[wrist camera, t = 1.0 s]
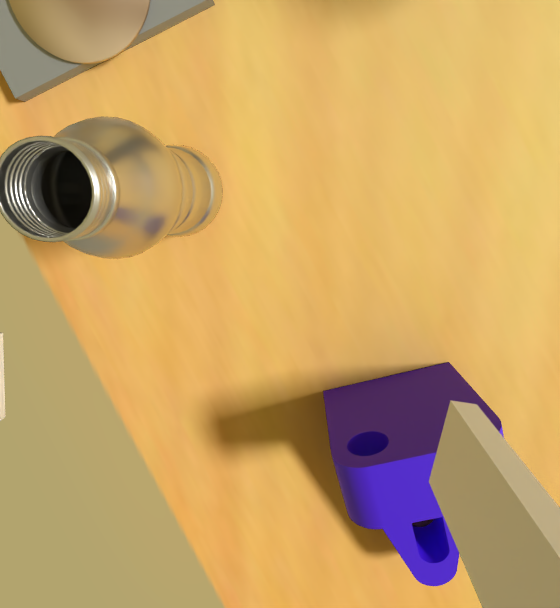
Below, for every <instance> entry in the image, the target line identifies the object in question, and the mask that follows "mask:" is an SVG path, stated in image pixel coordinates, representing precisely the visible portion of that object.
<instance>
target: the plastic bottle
mask: <svg viewBox="0 0 560 608" xmlns="http://www.w3.org/2000/svg"><path fill="white" fill-rule="evenodd" d="M222 193H223V189H222V182H221V178H220V176H219V173H218V171H217V169H216V167H215V166H214V164H213V163H212V162H211V161H210V160H209V158H208V157H206V156H205V155H204V154H203V153H201V152H200V151H198V150H196V149H194V148H191V147H187V146H184V145H167V146H165V145H164V144H163V143H162V142H161V140H160V139H158V138H157V137H156V136H154V135H153V134H152V133H150V132H149V131H148V130H146V129H145V128H143V127H141V126H139V125H137V124H135V123H133V122H131V121H128V120H124V119H121V118H117V117H96V118H90V119H86V120H83V121H80V122H77V123H75V124H72V125H70V126H67V127H66V128H64V129H63V130H61V131H60V132H58V133H57V134H56V135H55V136H54V137H51V136H35V137H29V138H25V139H22V140H20V141H17V142H16V143H14V144H13V145H11V146H10V147H9V148H8V149H7V150H6V151H5V152H4V153H3V154H2V155H1V157H0V212H1V214H2V215H3V216H4V218H5V220H6V221H7V222H8V223H9V224H10V225H11V226H12V227H13V228H14V229H15V230H17V231H18V232H20V233H21V234H23V235H25V236H27V237H29V238H31V239H35V240H39V241H44V242H59V241H64V242H65V243H67V244H68V245H69V246H71V247H73V248H75V249H77V250H79V251H81V252H83V253H86V254H89V255H93V256H97V257H101V258H109V259H120V258H127V257H132V256H134V255H137V254H140V253H143V252H144V251H146V250H148V249H149V248H151V247H153V246H154V245H156V244H158V243H159V242H160V241H161V240H162V239H163V238H164V237H165V236H173V237H183V236H189V235H192V234H195V233H198V232H199V231H201V230H203V229H204V228H206V227H207V226H208V225H209V224H210V223H211V222H212V221H213V219H214V218H215V217H216V215H217V213H218V211H219V209H220V206H221V202H222Z"/></svg>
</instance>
